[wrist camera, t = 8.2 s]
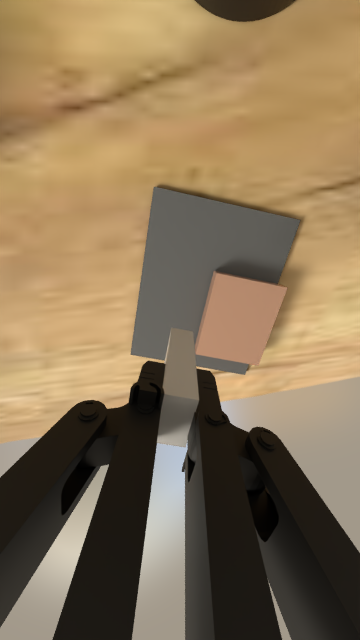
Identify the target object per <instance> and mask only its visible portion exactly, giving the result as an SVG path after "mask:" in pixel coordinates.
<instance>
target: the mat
mask: <svg viewBox="0 0 360 640" xmlns="http://www.w3.org/2000/svg"><path fill="white" fill-rule="evenodd" d="M299 223H300V220H298V219H293V218H289V217H284V216H280V215H276V214H271V213H267V212H263V211H258V210H254V209H250V208H245V207H241V206H237V205H232V204H228V203H223V202H219V201H215V200H210V199H206V198H202V197H197V196H193V195H189V194H184V193H180V192H176V191H171V190H167V189H163V188H158V187H154V189H153V197H152V204H151V211H150V218H149V225H148V233H147V240H146V247H145V254H144V262H143V269H142V276H141V283H140V290H139V298H138V305H137V312H136V319H135V326H134V334H133V341H132V348H131V355H136V356H142V357H147V358H153V359H159V360H164V361H165V357H166V352H167V347H168V342H169V337H170V332H171V328H176V329H182V330H187V331H192V332H193V337H194V349H195V343H196V339H197V335H198V332H199V328H200V324H201V320H202V316H203V312H204V308H205V304H206V300H207V296H208V292H209V288H210V284H211V280H212V276H213V272H214V271H218V272H223V273H228V274H233V275H237V276H242V277H247V278H252V279H257V280H262V281H266V282H271V283H276V284H278V282H279V279H280V276H281V273H282V270H283V268H284V265H285V262H286V259H287V256H288V254H289V251H290V248H291V245H292V243H293V240H294V237H295V234H296V231H297V229H298V226H299ZM195 360H196V366H198V367H204V368H210V369H215V370H221V371H227V372H232V373H238V374H244V375H245V373H246V370H247V368H248V365H249V364H246V363H241V362H235V361H230V360H224V359H219V358H213V357H208V356H202V355H196V353H195Z"/></svg>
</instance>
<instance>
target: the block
mask: <svg viewBox="0 0 360 640" xmlns="http://www.w3.org/2000/svg"><path fill="white" fill-rule="evenodd" d="M286 291H287V287H285V286H283V285H280V284H276V283H271V282H266V281H262V280H257V279H252V278H247V277H242V276H237V275H233V274H228V273H223V272H218V271H214V272H213V276H212V280H211V284H210V288H209V292H208V296H207V300H206V304H205V308H204V312H203V316H202V320H201V324H200V328H199V332H198V335H197V339H196V343H195V353H196V355H202V356H208V357H213V358H219V359H224V360H230V361H235V362H241V363H246V364H252V365H259V362H260V360H261V357H262V354H263V352H264V349H265V347H266V344H267V341H268V339H269V336H270V333H271V331H272V328H273V325H274V323H275V320H276V317H277V315H278V312H279V310H280V307H281V304H282V302H283V299H284V296H285V294H286Z"/></svg>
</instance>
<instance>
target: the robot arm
mask: <svg viewBox="0 0 360 640" xmlns="http://www.w3.org/2000/svg"><path fill="white" fill-rule="evenodd" d="M195 1H196V2H197V3H198V4H199V5H201V6H202V7H203V8H205V9H206V10H207V11H209V12H211V13H212V14H214V15H216V16H219V17H221V18H224V19H227V20H232V21H243V22H246V21H255V20H259V19H263V18H266V17H268V16H271V15H273V14H275V13H277V12H279V11H281V10H282V9H284V8H285V7H287V6H288V5H290V4H291V3H292V2H293V1H295V0H195ZM187 440H188V450H187V453H186V457H185V460H184V463H183V467H182V472H184V471H185V640H282V638H281V634H280V629H279V625H278V621H277V616H276V613H275V608H274V604H273V600H272V596H271V591H270V587H269V584H268V581H269V583H270V586H271V588H272V591H273V593H274V596H275V598H276V601H277V604H278V606H279V608H280V611H281V614H282V616H283V619H284V621H285V624H286V627H287V629H288V631H289V634H290V637H291V639H292V640H360V553H359V551H358V550H357V549H356V547H355V546H354V544H353V543H352V541H351V540H350V538H349V537H348V536H347V534H346V533H345V531H344V530H343V528H342V527H341V526H340V524H339V523H338V521H337V520H336V518H335V517H334V516H333V514H332V513H331V511H330V510H329V509H328V507H327V506H326V504H325V503H324V501H323V500H322V499H321V497H320V496H319V494H318V493H317V491H316V490H315V488H314V487H313V486H312V484H311V483H310V481H309V480H308V479H307V477H306V476H305V474H304V473H303V471H302V470H301V468H300V467H299V466H298V464H297V463H296V461H295V460H294V459H293V457H292V456H291V454H290V453H289V451H288V450H287V448H286V447H285V446H284V444H283V443H282V442H281V440H280V439H279V438H278V437H277V435H275V434H274V433H273V432H271V431H270V430H268V429H265V428H263V427H255V428H252V430H251V431H250V432H246V431H244V430H242V429H240V428H237V427H236V426H234V425H232V424H231V423H230V421H229V419H228V416H227V415H226V414H225V413H224V412H223V411H222V409H221V405H220V400H219V395H218V391H217V385H216V381H215V377H214V376H213V374H212V373H211V372H210V371H207V370H201V369H196V360H195V349H194V337H193V332H192V331H187V330H182V329H176V328H171V332H170V337H169V342H168V347H167V352H166V357H165V362H164V363H158V362H153V361H147V362H146V363H145V364H144V365H143V366H142V369H141V373H140V376H139V379H138V382H136V383H134V384H133V386H132V387H131V391H130V398H129V403H128V404H126V405H124V406H122V407H118V408H111V409H107V408H106V407H105V405H104V404H103V403H101V402H99V401H95V400H87V401H83V402H80V403H78V404H76V405H75V406H74V407H72V408H71V409H70V410H69V411H68V412H67V413H66V414H65V415H64V416H63V417H62V418H61V419H60V420H59V421H58V422H57V423H56V424H55V425H54V426H53V427H52V428H51V429H50V430H49V431H48V432H47V433H46V434H45V435H44V436H43V437H41V438H40V440H38V442H36V443H35V444H34V445H33V446H32V447H31V448H30V449H29V450H28V451H27V452H26V453H25V454H24V455H23V456H22V457H21V458H20V459H19V460H18V461H17V462H16V463H15V464H14V465H13V466H12V467H11V468H10V469H9V470H8V471H7V472H6V473H5V474H4V475H2V476H1V478H0V627H1V626H2V624H3V622H4V621H5V619H6V618H7V616H8V614H9V612H10V611H11V610H12V608H13V606H14V605H15V603H16V601H17V600H18V598H19V597H20V595H21V594H22V592H23V590H24V589H25V587H26V585H27V584H28V582H29V580H30V579H31V577H32V576H33V574H34V573H35V571H36V569H37V568H38V566H39V565H40V563H41V561H42V560H43V558H44V557H45V555H46V553H47V552H48V550H49V549H50V547H51V545H52V544H53V542H54V541H55V539H56V537H57V536H58V534H59V533H60V531H61V529H62V528H63V526H64V525H65V523H66V521H67V520H68V518H69V517H70V515H71V513H72V512H73V510H74V509H75V507H76V505H77V504H78V502H79V501H80V499H81V497H82V496H83V494H84V493H85V491H86V489H87V488H88V486H89V484H90V483H91V481H92V480H93V478H94V477H95V475H96V473H97V472H98V470H99V469H100V467H101V466H103V465H108V464H109V467H108V470H107V473H106V476H105V479H104V482H103V485H102V488H101V492H100V494H99V498H98V501H97V504H96V507H95V510H94V513H93V516H92V519H91V522H90V526H89V529H88V532H87V535H86V538H85V541H84V544H83V547H82V550H81V553H80V556H79V560H78V563H77V566H76V569H75V572H74V575H73V578H72V581H71V584H70V587H69V591H68V594H67V597H66V600H65V603H64V607H63V609H62V612H61V615H60V618H59V622H58V625H57V628H56V631H55V634H54V637H53V640H132V632H133V624H134V617H135V609H136V602H137V594H138V585H139V578H140V570H141V563H142V555H143V547H144V539H145V531H146V524H147V516H148V507H149V500H150V492H151V485H152V477H153V469H154V460H155V453H156V445H157V443H161V444H167V445H174V446H180V447H186V443H187ZM267 578H268V579H267Z"/></svg>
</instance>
